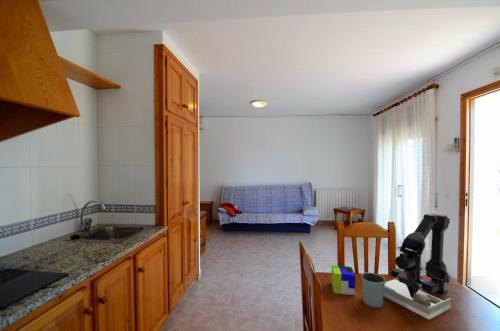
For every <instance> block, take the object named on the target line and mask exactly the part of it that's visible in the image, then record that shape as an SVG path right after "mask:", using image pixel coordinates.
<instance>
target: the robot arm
mask: <svg viewBox="0 0 500 331" xmlns="http://www.w3.org/2000/svg"><path fill="white" fill-rule="evenodd" d="M422 217H423V218H422V219H421V220H420V222H419V224H418V226H417V227H416V228H415V230H414V231H413V232H411V233H408V235H406V237H404V239H403V241H402V242H401V246H400V249H399V252H400V253H399V255H398V256H396V257H395V259H394V263H395V266H396V268H394V269H391V270H390V272H389V273H390V274H389V275H390V277H393V278H398V279H397V280H398V281H399V282H401V283H404V284H405V285H406V286H407V288H408V290H409V293H410V296H411V298H413V295H416V293H417V292H418V290H420V289H422V290H423V292H426V293H428V294H434V293H436V294H438V295H441V296H442V295H445V294H446V293H448V290H447V289H446V288H445V284H446V283H447V284H449V283H450V280H451V276H450V274H449V273H448V271H447V266H446V264H445V262H444V260H443V258H444V256H443V255H444V235H445V232H446V231H447V230H448V228H449V225H450V223H451V221H450V217H448V216H447V214H446V215H445V214H439V213H433V212H432V213H431V214H430V213H425V214H423V216H422ZM430 232H431V245H430V246H431V248H430V259H429V260H427V262H426V264H425V275H426V277H427V278H430V280H426V281H424V280H422V279H423V276H421V271H422V270H423V267H422V265H421V264H422V255H423V252H424V250H425V248H426V241H425V240H426V238H427V236H428V235H429V234H430Z"/></svg>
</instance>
